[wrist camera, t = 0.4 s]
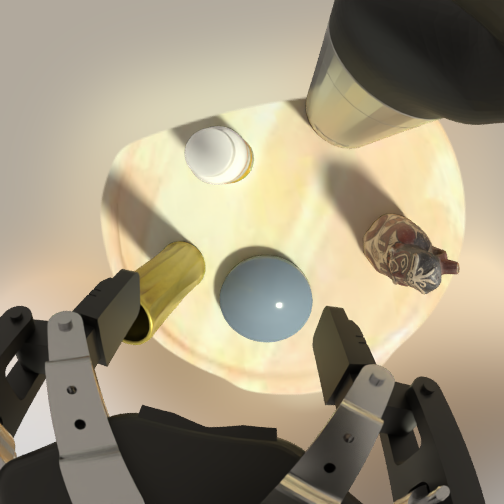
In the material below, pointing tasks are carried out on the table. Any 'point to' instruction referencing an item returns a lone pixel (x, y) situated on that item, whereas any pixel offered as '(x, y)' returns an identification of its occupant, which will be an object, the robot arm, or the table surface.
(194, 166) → the supplement bottle
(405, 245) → the figurine
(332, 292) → the table surface
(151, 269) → the vase
